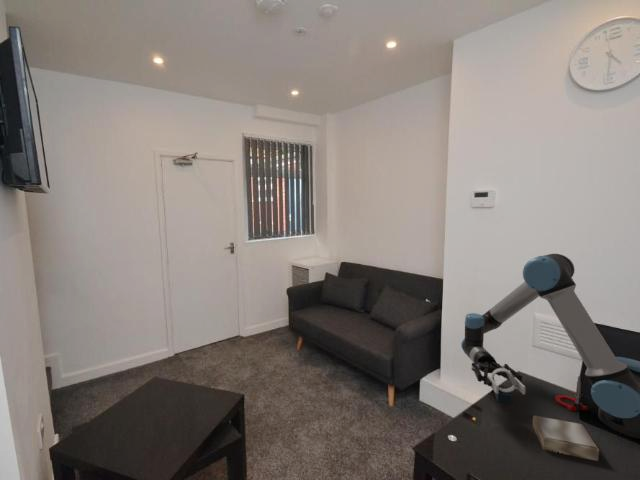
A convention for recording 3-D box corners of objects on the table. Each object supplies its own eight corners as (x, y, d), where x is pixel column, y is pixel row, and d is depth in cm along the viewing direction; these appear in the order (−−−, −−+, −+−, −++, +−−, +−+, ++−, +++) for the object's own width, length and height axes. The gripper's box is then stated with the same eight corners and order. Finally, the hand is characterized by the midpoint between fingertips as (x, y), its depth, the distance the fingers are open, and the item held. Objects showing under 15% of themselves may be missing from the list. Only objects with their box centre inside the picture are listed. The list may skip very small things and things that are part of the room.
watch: (518, 405, 112) (519, 375, 111) (492, 401, 114) (493, 371, 113) (514, 396, 117) (515, 367, 116) (489, 392, 120) (490, 364, 119)
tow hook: (549, 398, 129) (568, 411, 120) (551, 366, 128) (570, 378, 119) (570, 397, 129) (590, 411, 120) (571, 366, 129) (592, 377, 119)
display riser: (581, 434, 108) (582, 423, 107) (598, 461, 96) (599, 448, 96) (532, 425, 112) (533, 414, 112) (543, 449, 101) (544, 437, 101)
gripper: (508, 369, 133) (542, 401, 110) (456, 367, 134) (478, 399, 112) (509, 351, 132) (543, 380, 109) (456, 350, 134) (479, 378, 111)
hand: (510, 390), depth 110 cm, fingers closed on watch, 8 cm apart
